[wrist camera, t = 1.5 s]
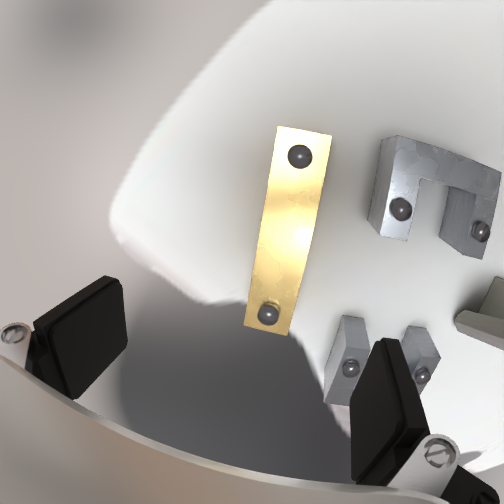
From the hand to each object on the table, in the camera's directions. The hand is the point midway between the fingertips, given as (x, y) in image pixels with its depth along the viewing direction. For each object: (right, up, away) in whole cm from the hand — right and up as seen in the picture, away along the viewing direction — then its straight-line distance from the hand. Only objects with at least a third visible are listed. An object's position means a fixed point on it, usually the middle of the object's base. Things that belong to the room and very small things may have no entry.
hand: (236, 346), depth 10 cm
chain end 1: (+16, +9, +13) cm, 23 cm away
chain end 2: (+14, -8, +19) cm, 25 cm away
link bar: (+4, +6, +18) cm, 19 cm away
